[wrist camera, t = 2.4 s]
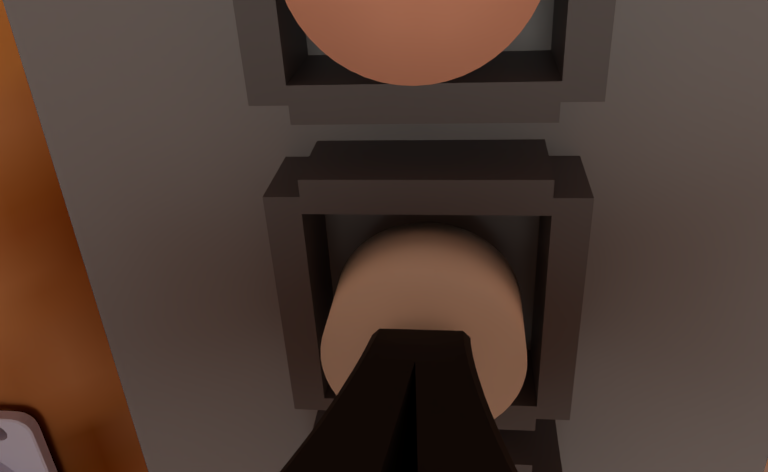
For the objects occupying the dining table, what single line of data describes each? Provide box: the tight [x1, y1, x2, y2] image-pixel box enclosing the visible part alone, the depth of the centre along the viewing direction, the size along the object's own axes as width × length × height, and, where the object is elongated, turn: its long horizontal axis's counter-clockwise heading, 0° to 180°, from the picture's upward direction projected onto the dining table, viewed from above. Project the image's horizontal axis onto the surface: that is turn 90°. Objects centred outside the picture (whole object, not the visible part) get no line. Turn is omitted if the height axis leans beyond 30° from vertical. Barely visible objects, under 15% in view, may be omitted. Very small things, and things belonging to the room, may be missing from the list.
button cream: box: [321, 222, 527, 419], centre depth 12 cm, size 3×3×2 cm
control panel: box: [3, 0, 768, 472], centre depth 12 cm, size 14×24×4 cm, turn 3°
